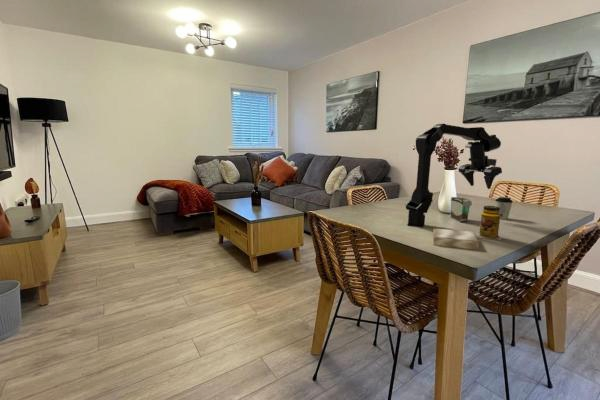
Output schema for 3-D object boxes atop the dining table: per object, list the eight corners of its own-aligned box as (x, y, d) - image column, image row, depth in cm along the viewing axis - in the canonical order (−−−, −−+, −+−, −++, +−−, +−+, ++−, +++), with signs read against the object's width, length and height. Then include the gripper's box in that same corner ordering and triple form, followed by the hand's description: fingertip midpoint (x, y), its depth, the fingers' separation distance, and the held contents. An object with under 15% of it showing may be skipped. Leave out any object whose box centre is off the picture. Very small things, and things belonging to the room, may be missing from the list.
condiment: (479, 238, 113) (483, 207, 111) (475, 232, 121) (478, 203, 119) (501, 240, 111) (505, 209, 108) (496, 234, 118) (500, 204, 116)
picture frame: (433, 244, 106) (434, 236, 106) (432, 235, 117) (433, 228, 117) (478, 249, 101) (479, 241, 100) (473, 239, 112) (474, 231, 111)
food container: (475, 223, 134) (478, 201, 132) (462, 223, 134) (464, 201, 132) (461, 216, 146) (463, 196, 144) (449, 216, 146) (450, 196, 144)
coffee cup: (502, 220, 138) (505, 199, 136) (489, 217, 145) (492, 197, 143) (514, 219, 140) (517, 198, 138) (501, 216, 146) (503, 196, 144)
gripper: (510, 150, 127) (512, 185, 131) (474, 149, 144) (477, 179, 148) (490, 158, 124) (493, 192, 128) (456, 155, 142) (459, 186, 146)
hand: (480, 187), depth 138 cm, fingers open, 9 cm apart
